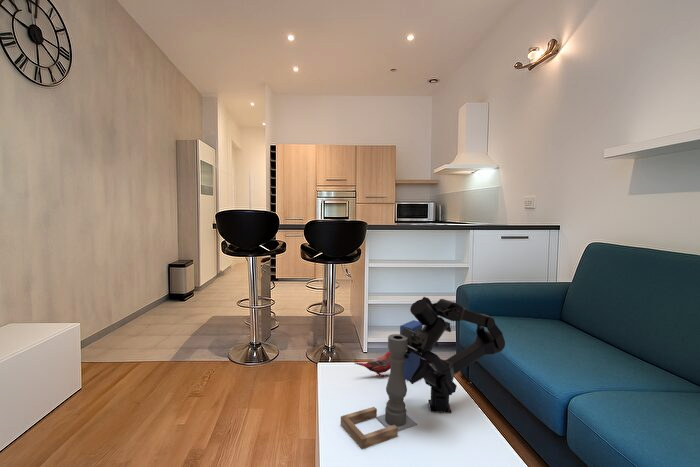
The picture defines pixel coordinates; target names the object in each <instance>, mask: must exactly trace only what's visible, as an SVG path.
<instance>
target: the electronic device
mask: <svg viewBox="0 0 700 467" xmlns="http://www.w3.org/2000/svg"><path fill="white" fill-rule="evenodd" d="M403 328H406V329H409V330H411V331H414V332H416V331H417V330H418V329H420V330H422V329H423V325H422V324H421V323H420V322H419V321H418V320H415V319H413V320H411V321H408V322H406V323H403V324H402V325H400V326H399V334H400V335H401V333H402V330H403ZM415 352H416V351H415ZM420 354H421V353H420ZM407 355H408V356H409V357H408V358H407V359H406V362H404V377H405V381H410V380H411V378H412V376H413V374H414V373H415V371H416V370H417V368H418V367H419V365H420V357H419V356H417V355H415V354H413V353H411V354H407Z"/></svg>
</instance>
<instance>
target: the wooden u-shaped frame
mask: <svg viewBox="0 0 700 467" xmlns="http://www.w3.org/2000/svg"><path fill="white" fill-rule="evenodd" d="M377 409H378V408H377V407H375V406H372V407H368V408H365V409H361V410H358V411H355V412H351V413H347V414H344V415H340V426H341V427H342V428H343V429H344V431H346V433H347V434H348V435H349V436H350V437H351V438H352V439H353V441H354V442H355V443H356V444H357V445H358V447H360V448H361V449H365V448H368V447H371V446H374V445H377V444H380V443H382V442H386V441H389V440H390V439H394V438H397V437H399V436H398V435H399V434H398V433H399V431H398V427H397V426H396V425H392V426H389V427H384V428H380V429H378V430H374V431H371V432H368V433H363V432H362V431H361V430H360V428H359V427H357V426H356V424H358V423H362V422H365V421H368V420H372V419H374V418H375V419H376V417H378V416H377V415H378V414H377V412H378V410H377Z"/></svg>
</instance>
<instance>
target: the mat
mask: <svg viewBox="0 0 700 467" xmlns="http://www.w3.org/2000/svg"><path fill="white" fill-rule="evenodd" d="M375 419H376V420H377V421H378V422H380V424H381V425H382V426H383V427H384V428H386V427H389V426H391V425H389V424H387V423H386V421H385V413H384V414H381V415H378V416H377V417H375ZM414 426H418V422H416V421H415V420H414V419H413V418H411V417H410V416H409V415H407V414H406V424H405V425H403V426H400V427H398V432H400V431H403V430H405V429H409V428H412V427H414Z"/></svg>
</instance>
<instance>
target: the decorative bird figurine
mask: <svg viewBox="0 0 700 467" xmlns="http://www.w3.org/2000/svg"><path fill="white" fill-rule="evenodd" d="M390 355H391V354H390V352H389V351H387V352H386V353H385V354H384V355H382V356H380V357H376V358H374V359H371V360H370V361H368V362H354V364H355V365H359V366H362V367H365V368H366V369H367V370H369V371H370V372H373V373H376V375H375V376H374V377H386V376H387V374H383V373H386V372H388V371H390V368H391V362H390V361H389V359H388V357H389V356H390Z"/></svg>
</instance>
